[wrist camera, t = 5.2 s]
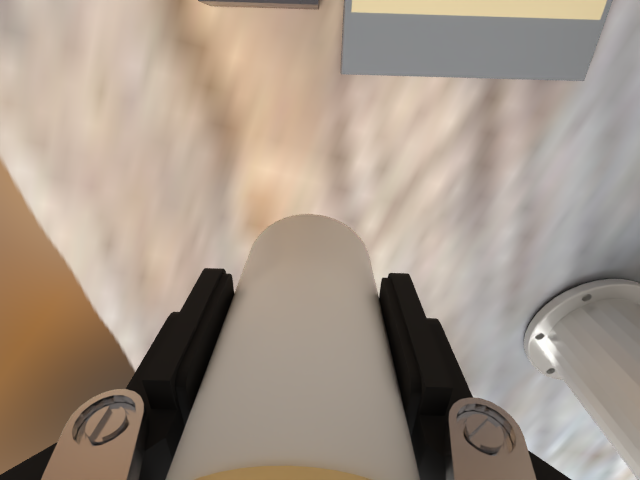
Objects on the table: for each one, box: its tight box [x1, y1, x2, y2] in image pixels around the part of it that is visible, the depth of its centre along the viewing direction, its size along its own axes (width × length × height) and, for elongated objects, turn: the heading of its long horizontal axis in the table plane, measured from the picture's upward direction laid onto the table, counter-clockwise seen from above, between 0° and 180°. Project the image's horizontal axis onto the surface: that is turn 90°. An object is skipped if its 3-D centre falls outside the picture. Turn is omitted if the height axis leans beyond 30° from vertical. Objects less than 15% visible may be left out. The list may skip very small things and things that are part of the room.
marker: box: [165, 214, 420, 480], centre depth 8 cm, size 5×5×11 cm
